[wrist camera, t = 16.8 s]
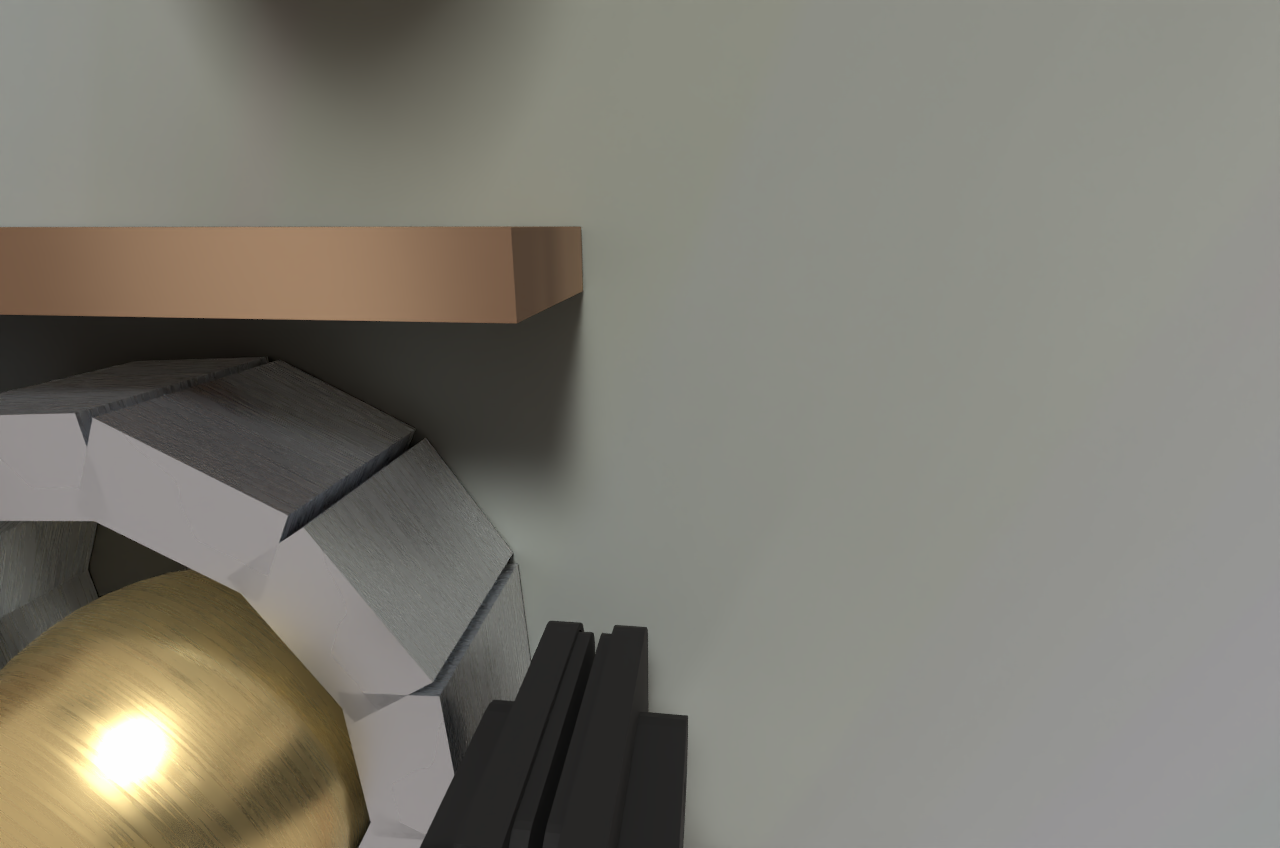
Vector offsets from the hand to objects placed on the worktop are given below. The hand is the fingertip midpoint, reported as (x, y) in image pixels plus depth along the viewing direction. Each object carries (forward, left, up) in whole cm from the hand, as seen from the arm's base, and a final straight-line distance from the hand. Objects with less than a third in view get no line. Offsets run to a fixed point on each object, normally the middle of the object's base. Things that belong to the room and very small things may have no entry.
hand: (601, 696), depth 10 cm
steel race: (+7, 0, -2) cm, 7 cm away
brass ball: (+6, +1, +1) cm, 7 cm away
